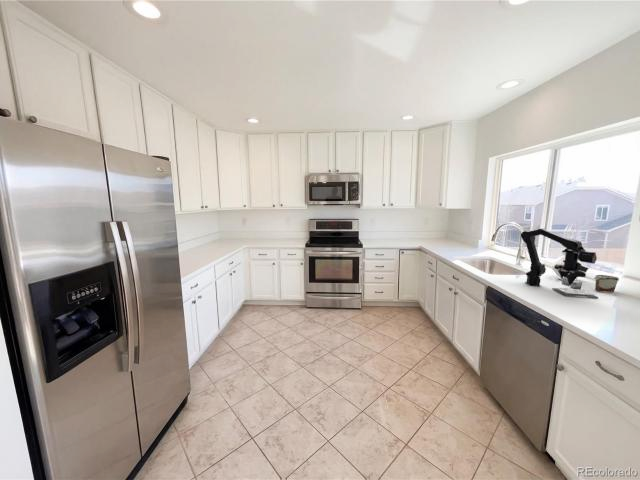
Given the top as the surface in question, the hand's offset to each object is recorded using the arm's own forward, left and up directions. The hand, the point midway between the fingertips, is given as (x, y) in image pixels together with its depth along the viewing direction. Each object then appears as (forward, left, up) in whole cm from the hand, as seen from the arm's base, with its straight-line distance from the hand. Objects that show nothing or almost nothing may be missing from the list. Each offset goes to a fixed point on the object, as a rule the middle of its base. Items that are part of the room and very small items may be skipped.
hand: (567, 283), depth 158 cm
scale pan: (+5, 0, -6) cm, 7 cm away
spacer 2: (+13, +12, -7) cm, 19 cm away
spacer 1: (0, 0, -1) cm, 1 cm away
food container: (+27, +12, -7) cm, 30 cm away
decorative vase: (+20, +35, -7) cm, 41 cm away
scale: (+5, 0, -7) cm, 8 cm away
